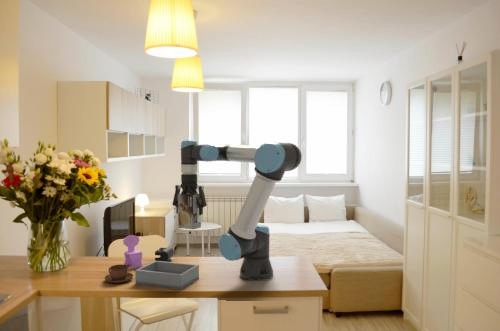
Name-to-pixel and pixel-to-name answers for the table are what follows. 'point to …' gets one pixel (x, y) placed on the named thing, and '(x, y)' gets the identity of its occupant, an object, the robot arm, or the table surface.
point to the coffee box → (188, 211)
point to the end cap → (164, 254)
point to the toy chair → (132, 252)
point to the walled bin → (167, 274)
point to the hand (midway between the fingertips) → (189, 221)
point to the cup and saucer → (118, 274)
